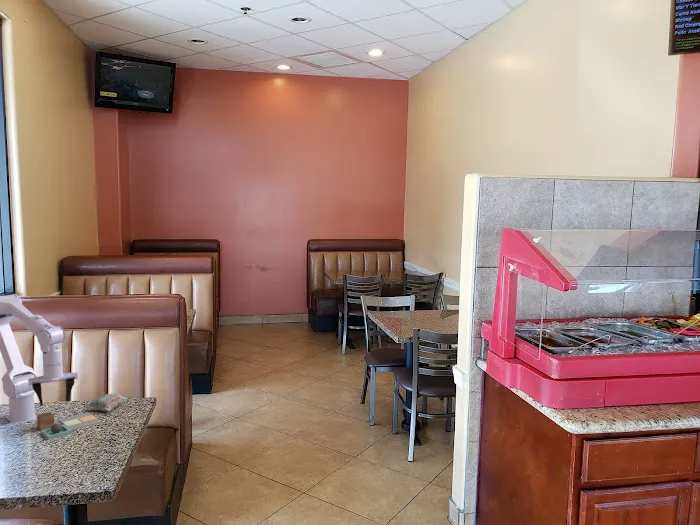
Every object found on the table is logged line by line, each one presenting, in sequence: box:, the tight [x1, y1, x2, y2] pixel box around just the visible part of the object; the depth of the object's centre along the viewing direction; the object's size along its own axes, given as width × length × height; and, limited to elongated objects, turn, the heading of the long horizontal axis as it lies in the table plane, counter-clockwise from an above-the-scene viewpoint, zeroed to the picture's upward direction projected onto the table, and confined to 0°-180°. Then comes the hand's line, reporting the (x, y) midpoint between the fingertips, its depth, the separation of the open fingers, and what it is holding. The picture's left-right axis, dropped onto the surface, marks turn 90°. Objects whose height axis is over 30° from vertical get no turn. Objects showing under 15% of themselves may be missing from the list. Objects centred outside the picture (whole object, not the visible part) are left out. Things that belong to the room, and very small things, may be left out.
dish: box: [40, 424, 73, 440], centre depth 180 cm, size 7×7×2 cm
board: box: [58, 412, 103, 431], centre depth 190 cm, size 12×10×1 cm
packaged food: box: [88, 393, 129, 412], centre depth 204 cm, size 9×12×5 cm
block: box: [36, 411, 55, 431], centre depth 185 cm, size 4×4×5 cm
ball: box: [51, 423, 62, 434], centre depth 180 cm, size 3×3×3 cm
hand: (54, 402), depth 186 cm, fingers open, 7 cm apart
